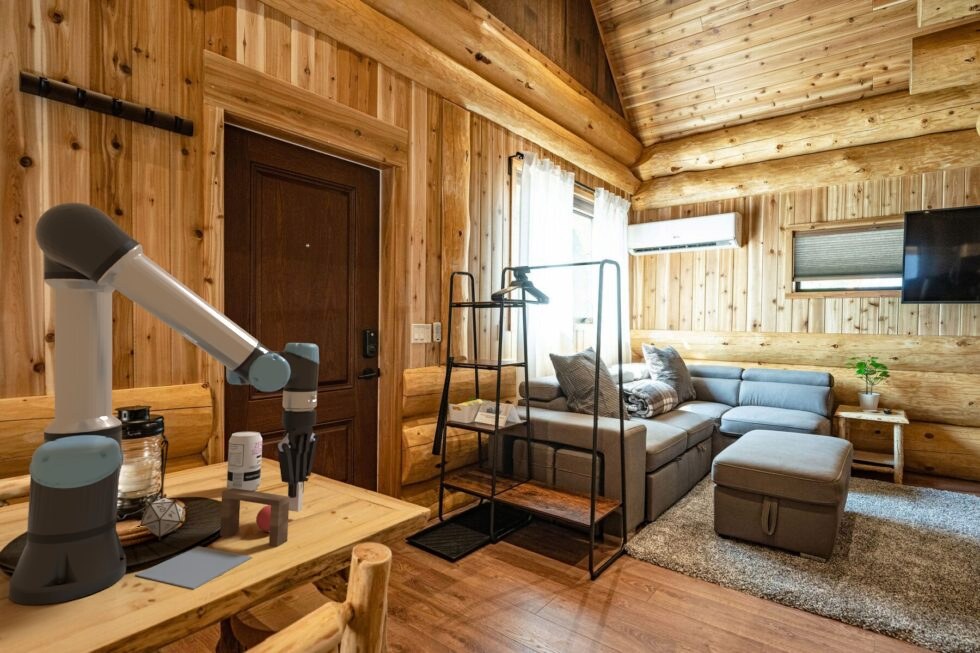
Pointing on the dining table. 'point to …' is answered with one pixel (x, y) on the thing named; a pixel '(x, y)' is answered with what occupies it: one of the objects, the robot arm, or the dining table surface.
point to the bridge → (277, 502)
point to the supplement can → (244, 461)
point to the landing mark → (194, 567)
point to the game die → (162, 516)
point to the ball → (264, 518)
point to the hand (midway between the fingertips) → (295, 510)
